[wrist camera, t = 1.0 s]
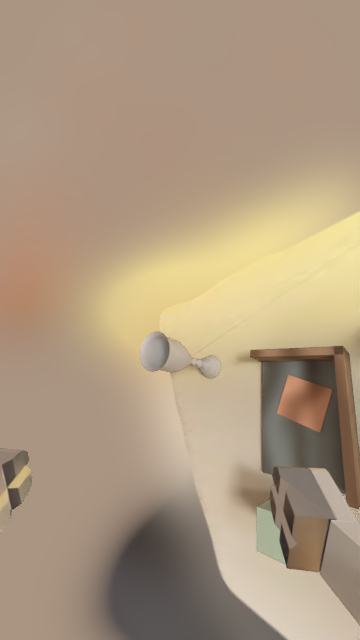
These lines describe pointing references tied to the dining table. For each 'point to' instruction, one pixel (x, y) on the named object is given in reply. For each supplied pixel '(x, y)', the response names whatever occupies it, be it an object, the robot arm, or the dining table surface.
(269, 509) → the sage block
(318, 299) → the dining table surface
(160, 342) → the chalice
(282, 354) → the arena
